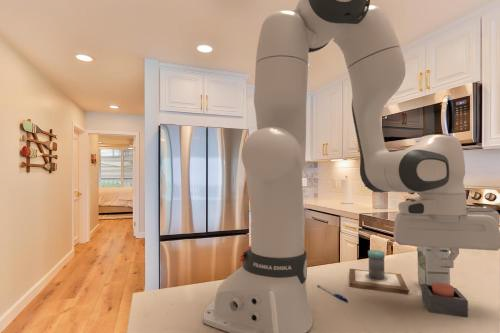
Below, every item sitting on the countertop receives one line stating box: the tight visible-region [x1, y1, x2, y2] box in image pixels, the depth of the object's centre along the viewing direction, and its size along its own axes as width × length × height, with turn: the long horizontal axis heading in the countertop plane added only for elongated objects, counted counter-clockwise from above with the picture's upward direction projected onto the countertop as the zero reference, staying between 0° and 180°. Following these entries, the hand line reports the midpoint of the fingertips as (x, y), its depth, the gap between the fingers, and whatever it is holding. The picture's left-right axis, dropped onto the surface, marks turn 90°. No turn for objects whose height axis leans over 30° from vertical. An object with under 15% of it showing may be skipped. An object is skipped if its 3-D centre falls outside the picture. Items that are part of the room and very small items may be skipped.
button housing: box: [421, 284, 469, 318], centre depth 63 cm, size 7×7×4 cm
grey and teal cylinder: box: [367, 249, 386, 280], centre depth 78 cm, size 4×4×7 cm
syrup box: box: [416, 246, 451, 287], centre depth 73 cm, size 6×6×14 cm
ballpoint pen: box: [317, 284, 349, 303], centre depth 70 cm, size 10×1×1 cm, turn 28°
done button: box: [432, 282, 455, 297], centre depth 63 cm, size 4×4×2 cm
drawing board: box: [349, 268, 410, 295], centre depth 78 cm, size 14×12×1 cm
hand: (444, 266), depth 63 cm, fingers closed
